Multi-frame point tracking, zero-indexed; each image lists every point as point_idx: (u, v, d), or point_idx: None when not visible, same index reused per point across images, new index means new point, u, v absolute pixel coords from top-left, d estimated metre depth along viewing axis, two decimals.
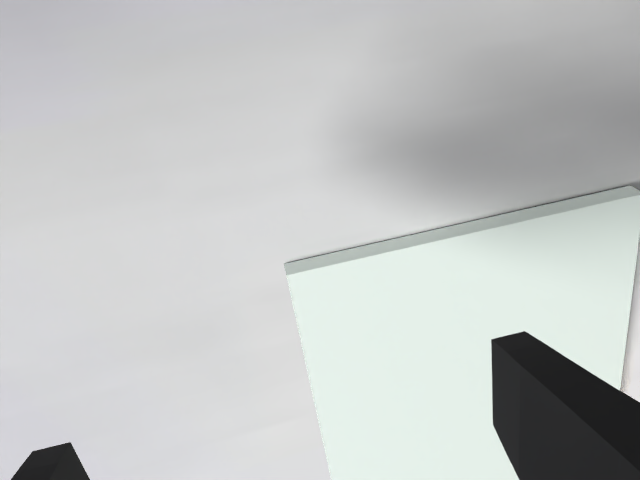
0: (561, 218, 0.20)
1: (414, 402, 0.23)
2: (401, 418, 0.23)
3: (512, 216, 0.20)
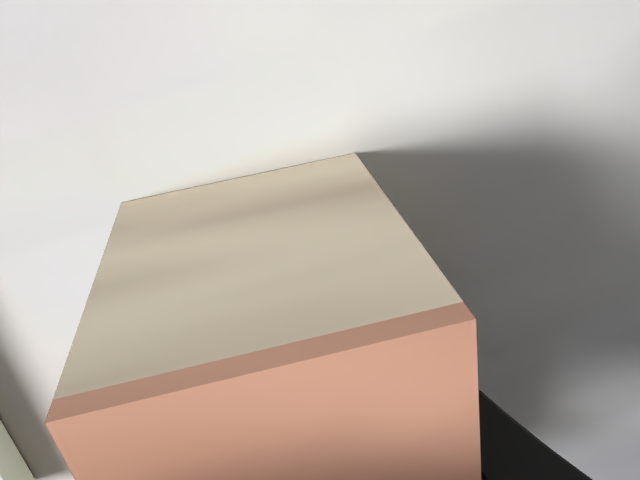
0: None
1: None
2: None
3: None
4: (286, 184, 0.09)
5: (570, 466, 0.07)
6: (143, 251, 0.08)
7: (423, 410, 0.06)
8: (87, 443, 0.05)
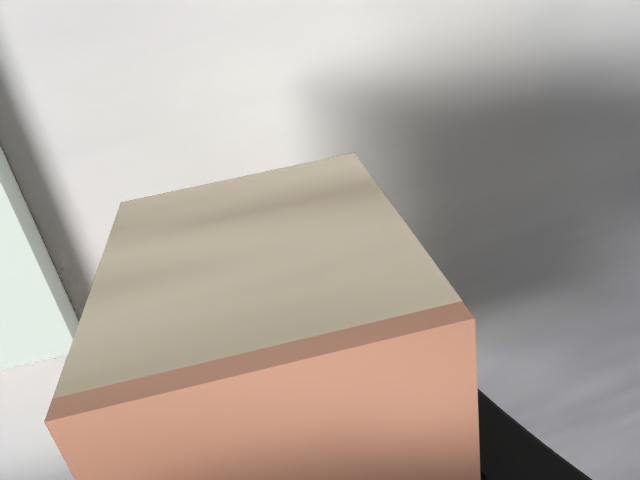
0: None
1: None
2: None
3: None
4: (285, 184, 0.09)
5: (570, 466, 0.07)
6: (142, 250, 0.08)
7: (422, 409, 0.06)
8: (87, 442, 0.05)
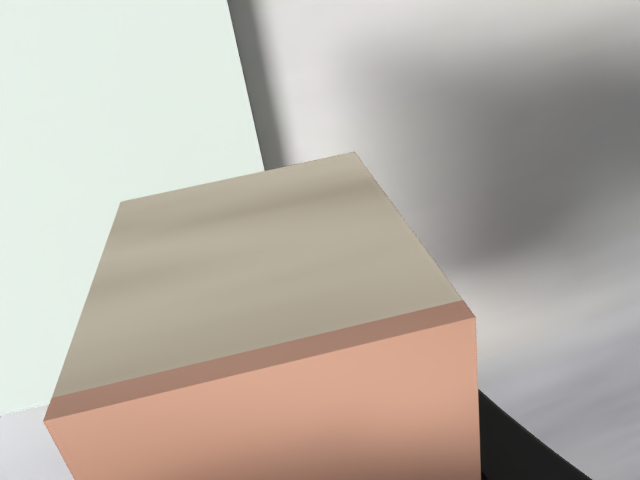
0: None
1: None
2: None
3: None
4: (285, 183, 0.09)
5: (570, 466, 0.07)
6: (143, 249, 0.08)
7: (423, 408, 0.06)
8: (86, 441, 0.05)
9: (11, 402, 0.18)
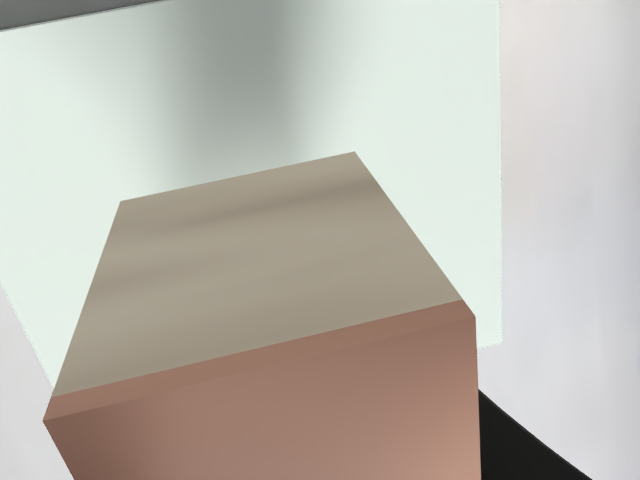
0: None
1: None
2: None
3: None
4: (285, 182, 0.09)
5: (570, 466, 0.07)
6: (142, 248, 0.08)
7: (422, 408, 0.06)
8: (85, 441, 0.05)
9: (489, 261, 0.19)
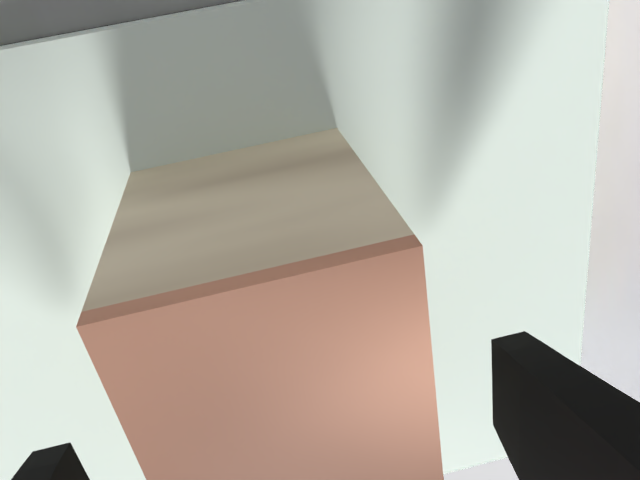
0: None
1: None
2: None
3: None
4: (275, 153, 0.10)
5: None
6: (152, 207, 0.09)
7: (383, 325, 0.07)
8: (109, 345, 0.06)
9: (566, 346, 0.15)
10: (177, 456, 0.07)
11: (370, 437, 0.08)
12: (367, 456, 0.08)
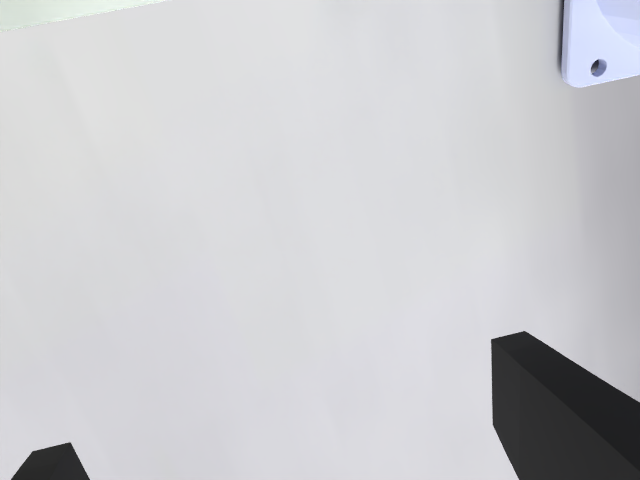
0: None
1: None
2: None
3: None
4: None
5: None
6: None
7: None
8: None
9: None
10: None
11: None
12: None
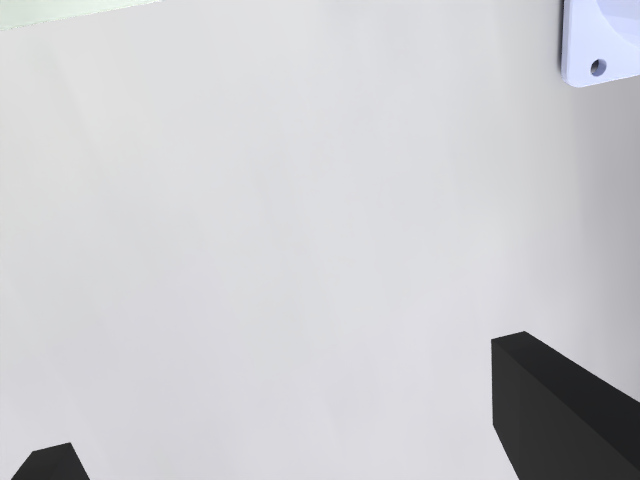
0: None
1: None
2: None
3: None
4: None
5: None
6: None
7: None
8: None
9: None
10: None
11: None
12: None
